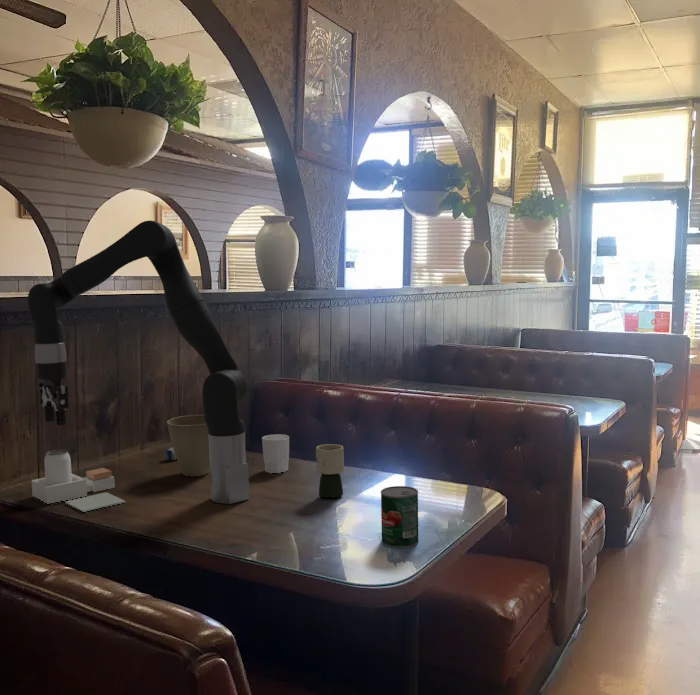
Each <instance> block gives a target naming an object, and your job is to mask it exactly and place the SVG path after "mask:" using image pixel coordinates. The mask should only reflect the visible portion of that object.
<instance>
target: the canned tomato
mask: <svg viewBox="0 0 700 695" xmlns="http://www.w3.org/2000/svg"><path fill="white" fill-rule="evenodd" d="M380 505H381V506H380V507H381V509H380V510H381V511H380V513H381V514H380V515H381V516H380V518H381V519H380V520H381V521H380V523H381V543H382V545H384V546H386V547H388V548H393V549H394V548H395V549H405V548H412V547H415V546H416V545H417V544H419V490H418V489H417V488H415V487H412V486H405V485H395V486H388V487H384V488H382V489H381V490H380Z"/></svg>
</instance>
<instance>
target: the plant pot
mask: <svg viewBox="0 0 700 695" xmlns="http://www.w3.org/2000/svg"><path fill="white" fill-rule="evenodd" d="M166 423H167V424H166V425H167V429H168V430H167V431H168V434H169V438H170V443H171V446H172V447H171V448H173V450H174V453H175V456H176V459H177V460H176V462H177V464H178V466H179V468H180V470H181V473H182V475H183V476H184V475H185V477H188V476H191V477H190V478H193V477H195V476H197V477H203V476H206V475H208V474H210V462H209V438H208V427H207V425H206V423H205V418H204V414H192V415H183V416H182V415H181V416H177V417H172V418H170V419H168V420H167V421H166ZM207 473H208V474H207ZM205 474H206V475H205ZM202 475H203V476H202Z"/></svg>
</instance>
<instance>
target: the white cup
mask: <svg viewBox="0 0 700 695" xmlns="http://www.w3.org/2000/svg"><path fill="white" fill-rule="evenodd" d="M261 442H262V454H263V463H264V468H265V470H264V471H265V473H267V472H269V473H268V474H272V473H278V474H282V473H281V472H284V473H286V472H285V471H287V470H288V471H289V462H290V461H289V460H290V459H289V458H290V436H289V435H287V434H281V433H279V434H275V433H274V434H267V435H264V436H262V437H261ZM288 471H287V472H288Z"/></svg>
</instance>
